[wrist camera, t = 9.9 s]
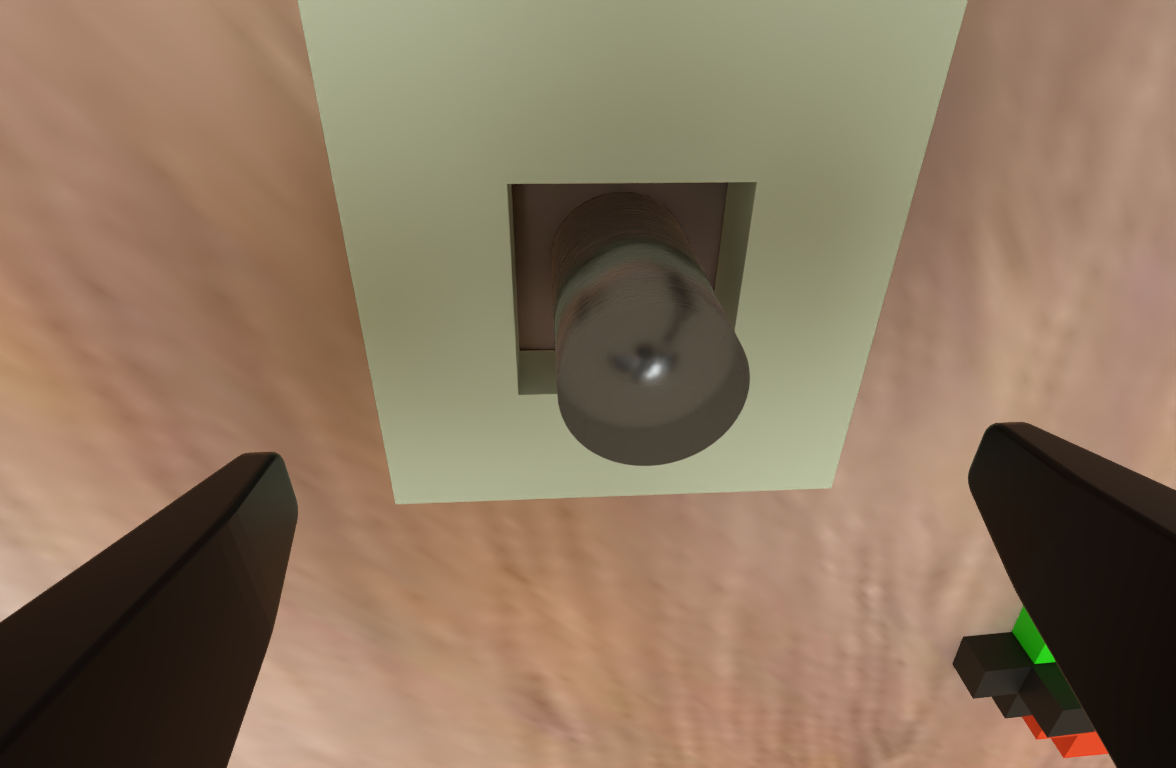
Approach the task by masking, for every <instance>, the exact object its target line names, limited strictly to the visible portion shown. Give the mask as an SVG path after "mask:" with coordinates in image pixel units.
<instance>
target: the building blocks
mask: <svg viewBox="0 0 1176 768" xmlns="http://www.w3.org/2000/svg"><path fill="white" fill-rule="evenodd" d="M953 666H954V667H955V669H956V671H957V672H958V674H959V676H960V677H961V679H962V681H963V682H964V684H965V686H966V687H967V689H968V691H969V692H970V694H971V696H972V697H973V699H974V698H983V697H991V696H992V698H993V700H994V701H995V703H996V705H997V706H998V708H999V709H1000V711H1001V713H1002V714H1003V716H1004V717H1005V718H1013V717H1023V719H1024V721H1025V722H1026V724H1027V725H1028V727H1029V728H1030V730H1031V732H1032V733H1033V735H1034V736H1035V738H1036V740H1037V739H1047V738H1051V739H1052V741H1053V742H1054V744H1055V745H1056V747H1057V748H1058V750H1059V752H1060V753H1061V755H1062V756H1063V758H1069V757H1079V756H1089V755H1100V754H1109V753H1108V752H1107V750H1106V748H1105V747H1104V745H1103V743H1102V741H1101V740H1100V738H1099V736H1098V734H1097V733H1096V731H1095V729H1094V727H1093V726H1092V724H1091V722H1090V720H1089V719H1088V717H1087V715H1086V714H1085V712H1084V710H1083V708H1082V707H1081V705H1080V703H1079V701H1078V700H1077V698H1076V696H1075V694H1074V693H1073V691H1072V689H1071V687H1070V686H1069V684H1068V682H1067V681H1066V679H1065V677H1064V675H1063V674H1062V672H1061V670H1060V668H1059V667H1058V665H1057V663H1056V661H1055V660H1054V658H1053V656H1052V654H1051V653H1050V651H1049V649H1048V648H1047V646H1046V644H1045V642H1044V641H1043V639H1042V637H1041V635H1040V634H1039V632H1038V630H1037V628H1036V627H1035V625H1034V623H1033V621H1032V620H1031V618H1030V616H1029V614H1028V613H1027V611H1026V609H1025V607H1024V606H1023V609H1022V611H1021V613H1020V615H1019V617H1018V619H1017V621H1016V623H1015V626H1014V628H1013V630H1012V632H1007V633H997V634H987V635H977V636H967V637H963V639H962V641H961V644H960V646H959V649H958V651H957V654H956V657H955V659H954V662H953Z"/></svg>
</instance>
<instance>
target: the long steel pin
mask: <svg viewBox="0 0 1176 768" xmlns="http://www.w3.org/2000/svg"><path fill="white" fill-rule="evenodd" d="M551 269H552V290H553V311H554V332H555V354H556V375H557V395H558V405H559V409H560V413H561V416H562V418H563V420H564V423H565V425H566V426H567V428H568V429H569V431H570V432H571V434H572V435H573V436H574V437H575V438H576V439H577V441H579V442H580V443H581V444H582V445H583V446H584V447H585V448H587V449H588V450H590V451H591V452H593V453H595V454H597V455H599V456H601V457H603V458H605V459H608V460H610V461H613V462H617V463H621V464H626V465H634V466H654V465H663V464H668V463H673V462H676V461H680V460H683V459H685V458H688V457H690V456H693V455H695V454H697V453H699V452H701V451H703V450H704V449H706V448H707V447H709V446H710V445H712V444H713V443H715V442H716V441H717V440H718V439H719V438H721V437H722V436H723V435H724V434H725V433H726V432H727V431H728V430H729V429H730V428H731V426H732V425H733V424H734V422H735V421H736V420H737V418H738V416H739V414H740V413H741V411H742V409H743V407H744V404H745V402H746V399H747V395H748V391H749V384H750V371H749V364H748V360H747V357H746V354H745V352H744V349H743V347H742V345H741V343H740V341H739V339H738V337H737V335H736V333H735V331H734V329H733V328H732V326H731V324H730V322H729V320H728V318H727V316H726V314H725V312H724V310H723V308H722V306H721V304H720V302H719V300H718V298H717V296H716V294H715V293H714V291H713V289H712V287H711V285H710V283H709V281H708V279H707V277H706V275H705V273H704V271H703V269H702V267H701V265H700V263H699V261H698V260H697V258H696V256H695V254H694V252H693V250H692V248H691V246H690V244H689V242H688V240H687V238H686V236H685V234H684V232H683V230H682V228H681V226H680V225H679V223H678V221H677V220H676V218H675V217H674V216H673V215H672V213H671V212H670V211H669V210H668V209H667V208H665V207H664V206H663V205H662V204H660V203H659V202H657V201H655V200H653V199H651V198H649V197H647V196H644V195H641V194H636V193H630V192H616V193H609V194H604V195H601V196H598V197H595V198H593V199H591V200H589V201H587V202H585V203H583V204H582V205H580V206H579V207H578V208H576V209H575V210H574V211H573V212H572V213H571V214H570V215H569V216H568V217H567V218H566V219H565V221H564V222H563V224H562V225H561V227H560V228H559V230H558V232H557V234H556V237H555V240H554V243H553V247H552V253H551Z"/></svg>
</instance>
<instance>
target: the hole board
mask: <svg viewBox="0 0 1176 768" xmlns="http://www.w3.org/2000/svg"><path fill="white" fill-rule="evenodd" d="M967 1H968V0H298V5H299V10H300V16H301V21H302V26H303V31H304V36H305V41H306V46H307V51H308V57H309V62H310V67H311V72H312V77H313V82H314V87H315V93H316V98H317V103H318V108H319V113H320V118H321V123H322V128H323V134H324V139H325V144H326V149H327V154H328V159H329V164H330V170H331V175H332V180H333V185H334V190H335V195H336V200H337V206H338V211H339V216H340V221H341V226H342V231H343V236H344V241H345V247H346V252H347V257H348V262H349V267H350V272H351V277H352V283H353V288H354V293H355V298H356V303H357V308H358V313H359V319H360V324H361V329H362V334H363V339H364V344H365V349H366V354H367V360H368V365H369V370H370V375H371V380H372V385H373V390H374V396H375V401H376V406H377V411H378V416H379V421H380V426H381V431H382V437H383V442H384V447H385V452H386V457H387V462H388V467H389V473H390V478H391V483H392V488H393V493H394V498H395V503H396V504H418V503H445V502H472V501H499V500H526V499H553V498H580V497H607V496H634V495H661V494H688V493H715V492H742V491H769V490H796V489H823V488H831V487H832V484H833V480H834V476H835V473H836V469H837V466H838V462H839V459H840V455H841V451H842V448H843V444H844V441H845V437H846V434H847V430H848V426H849V423H850V419H851V416H852V412H853V409H854V405H855V401H856V398H857V394H858V391H859V387H860V384H861V380H862V376H863V373H864V369H865V366H866V362H867V359H868V355H869V351H870V348H871V344H872V341H873V337H874V334H875V330H876V326H877V323H878V319H879V316H880V312H881V309H882V305H883V301H884V298H885V294H886V291H887V287H888V284H889V280H890V276H891V273H892V269H893V266H894V262H895V259H896V255H897V251H898V248H899V244H900V241H901V237H902V234H903V230H904V226H905V223H906V219H907V216H908V212H909V209H910V205H911V201H912V198H913V194H914V191H915V187H916V184H917V180H918V176H919V173H920V169H921V166H922V162H923V159H924V155H925V151H926V148H927V144H928V141H929V137H930V134H931V130H932V126H933V123H934V119H935V116H936V112H937V109H938V105H939V101H940V98H941V94H942V91H943V87H944V84H945V80H946V76H947V73H948V69H949V66H950V62H951V59H952V55H953V51H954V48H955V44H956V41H957V37H958V34H959V30H960V26H961V23H962V19H963V16H964V12H965V8H966V5H967ZM706 182H728V187H727V195H726V202H725V210H724V218H723V226H722V234H721V242H720V250H719V258H718V266H717V274H716V282H715V289H714V293H715V294H716V296H717V298H718V300H719V302H720V304H721V306H722V308H723V310H724V312H725V314H726V316H727V318H728V320H729V322H730V324H731V326H732V328H733V329H734V331H735V333H736V335H737V337H738V339H739V341H740V343H741V345H742V347H743V349H744V352H745V354H746V357H747V360H748V364H749V371H750V384H749V391H748V395H747V399H746V402H745V404H744V407H743V409H742V411H741V413H740V414H739V416H738V418H737V420H736V421H735V422H734V424H733V425H732V426H731V428H730V429H729V430H728V431H727V432H726V433H725V434H724V435H723V436H722V437H721V438H719V439H718V440H717V441H716V442H715V443H713V444H712V445H710V446H709V447H707V448H706V449H704V450H703V451H701V452H699V453H697V454H695V455H693V456H690V457H688V458H685V459H683V460H680V461H676V462H673V463H668V464H663V465H654V466H634V465H626V464H621V463H617V462H613V461H610V460H608V459H605V458H603V457H601V456H599V455H597V454H595V453H593V452H591V451H590V450H588V449H587V448H585V447H584V446H583V445H582V444H581V443H580V442H579V441H577V439H576V438H575V437H574V436H573V435H572V434H571V432H570V431H569V429H568V428H567V426H566V425H565V423H564V420H563V418H562V416H561V413H560V409H559V405H558V395H557V375H556V354H555V350H530V351H520V345H519V324H518V304H517V284H516V264H515V244H514V224H513V204H512V184H569V183H706Z"/></svg>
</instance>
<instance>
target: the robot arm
mask: <svg viewBox="0 0 1176 768" xmlns="http://www.w3.org/2000/svg"><path fill="white" fill-rule="evenodd" d="M968 483H969V488H970V491H971V493H972V496H973V498H974V500H975V502H976V505H977V507H978V509H979V511H980V513H981V516H982V518H983V520H984V522H985V525H986V527H987V529H988V531H989V534H990V536H991V538H992V540H993V543H994V545H995V547H996V549H997V552H998V554H999V556H1000V558H1001V561H1002V563H1003V565H1004V567H1005V570H1006V572H1007V574H1008V576H1009V578H1010V580H1011V582H1012V584H1013V587H1014V589H1015V591H1016V593H1017V595H1018V596H1019V598H1020V600H1021V602H1022V604H1023V606H1024V607H1025V609H1026V611H1027V613H1028V614H1029V616H1030V618H1031V620H1032V621H1033V623H1034V625H1035V627H1036V628H1037V630H1038V632H1039V634H1040V635H1041V637H1042V639H1043V641H1044V642H1045V644H1046V646H1047V648H1048V649H1049V651H1050V653H1051V654H1052V656H1053V658H1054V660H1055V661H1056V663H1057V665H1058V667H1059V668H1060V670H1061V672H1062V674H1063V675H1064V677H1065V679H1066V681H1067V682H1068V684H1069V686H1070V687H1071V689H1072V691H1073V693H1074V694H1075V696H1076V698H1077V700H1078V701H1079V703H1080V705H1081V707H1082V708H1083V710H1084V712H1085V714H1086V715H1087V717H1088V719H1089V720H1090V722H1091V724H1092V726H1093V727H1094V729H1095V731H1096V733H1097V734H1098V736H1099V738H1100V740H1101V741H1102V743H1103V745H1104V747H1105V748H1106V750H1107V752H1108V753H1109V755H1110V757H1111V759H1112V760H1113V762H1114V764H1115V766H1116V767H1117V768H1176V490H1174V489H1172V488H1170V487H1167V486H1165V485H1163V484H1161V483H1159V482H1156V481H1154V480H1152V479H1150V478H1148V477H1145V476H1143V475H1141V474H1139V473H1137V472H1134V471H1132V470H1130V469H1128V468H1126V467H1123V466H1121V465H1119V464H1117V463H1115V462H1112V461H1110V460H1108V459H1106V458H1104V457H1101V456H1099V455H1097V454H1095V453H1093V452H1090V451H1088V450H1086V449H1084V448H1082V447H1079V446H1077V445H1075V444H1073V443H1071V442H1068V441H1066V440H1064V439H1062V438H1060V437H1057V436H1055V435H1053V434H1051V433H1049V432H1046V431H1044V430H1042V429H1040V428H1038V427H1035V426H1033V425H1031V424H1028V423H1025V422H1006V423H995V424H992V425H990V426H989V427H988V428H987V429H986V431H985V433H984V435H983V437H982V440H981V442H980V445H979V447H978V450H977V452H976V454H975V457H974V459H973V462H972V464H971V467H970V469H969V474H968ZM297 518H298V505H297V500H296V497H295V493H294V490H293V487H292V484H291V481H290V478H289V475H288V472H287V469H286V466H285V463H284V460H283V458H282V457H281V456H280V455H279V454H278V453H276V452H255V453H244V454H242V455H240V456H238V457H237V458H235V459H234V460H232V461H231V462H230V463H228V464H227V465H225V466H224V467H222V468H221V469H220V470H218V471H217V472H215V473H214V474H212V475H211V476H209V477H208V478H207V479H205V480H204V481H202V482H201V483H199V484H198V485H197V486H195V487H194V488H192V489H191V490H189V491H188V492H187V493H185V494H184V495H182V496H181V497H179V498H178V499H177V500H175V501H174V502H172V503H171V504H169V505H168V506H166V507H165V508H164V509H162V510H161V511H159V512H158V513H156V514H155V515H154V516H152V517H151V518H149V519H148V520H146V521H145V522H144V523H142V524H141V525H139V526H138V527H136V528H135V529H133V530H132V531H131V532H129V533H128V534H126V535H125V536H123V537H122V538H121V539H119V540H118V541H116V542H115V543H113V544H112V545H111V546H109V547H108V548H106V549H105V550H103V551H102V552H101V553H99V554H98V555H96V556H95V557H93V558H92V559H90V560H89V561H88V562H86V563H85V564H83V565H82V566H80V567H79V568H78V569H76V570H75V571H73V572H72V573H70V574H69V575H68V576H66V577H65V578H63V579H62V580H60V581H59V582H57V583H56V584H55V585H53V586H52V587H50V588H49V589H47V590H46V591H45V592H43V593H42V594H40V595H39V596H37V597H36V598H34V599H33V600H32V601H30V602H29V603H27V604H26V605H24V606H23V607H22V608H20V609H19V610H17V611H16V612H14V613H13V614H11V615H10V616H9V617H7V618H6V619H4V620H3V621H1V622H0V768H227V765H228V762H229V759H230V756H231V753H232V751H233V748H234V745H235V742H236V739H237V736H238V733H239V730H240V727H241V724H242V721H243V718H244V715H245V713H246V710H247V707H248V704H249V701H250V698H251V695H252V692H253V689H254V686H255V683H256V680H257V677H258V675H259V672H260V669H261V666H262V663H263V660H264V657H265V654H266V651H267V648H268V645H269V642H270V638H271V635H272V632H273V628H274V624H275V620H276V616H277V612H278V607H279V602H280V598H281V593H282V588H283V584H284V579H285V574H286V570H287V565H288V561H289V556H290V551H291V547H292V542H293V537H294V533H295V528H296V524H297Z"/></svg>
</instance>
